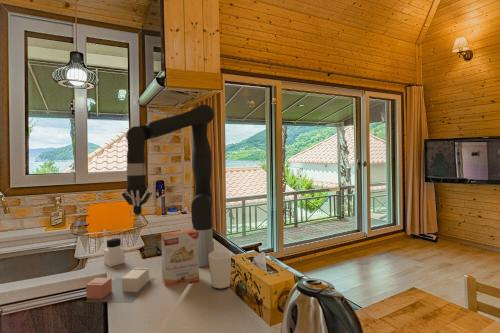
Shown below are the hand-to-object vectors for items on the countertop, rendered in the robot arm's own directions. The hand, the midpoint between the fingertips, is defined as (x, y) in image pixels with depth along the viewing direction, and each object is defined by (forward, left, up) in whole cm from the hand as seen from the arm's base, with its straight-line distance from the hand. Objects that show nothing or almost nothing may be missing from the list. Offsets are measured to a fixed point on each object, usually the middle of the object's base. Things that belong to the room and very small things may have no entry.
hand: (137, 214), depth 124 cm
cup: (-37, +7, -27) cm, 46 cm away
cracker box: (-20, +5, -27) cm, 34 cm away
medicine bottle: (+20, -15, -27) cm, 37 cm away
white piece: (0, +14, -27) cm, 30 cm away
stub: (+6, +19, -26) cm, 33 cm away
